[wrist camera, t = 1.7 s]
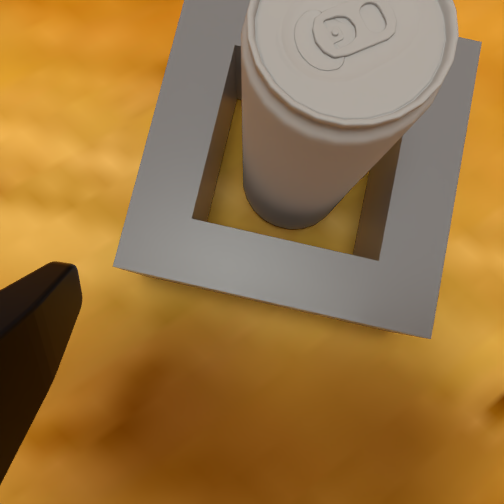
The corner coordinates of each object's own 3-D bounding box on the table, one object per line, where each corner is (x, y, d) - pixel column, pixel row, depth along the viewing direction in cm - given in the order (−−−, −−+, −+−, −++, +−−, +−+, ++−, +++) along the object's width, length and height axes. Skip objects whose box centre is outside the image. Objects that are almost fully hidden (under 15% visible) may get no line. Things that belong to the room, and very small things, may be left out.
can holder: (432, 96, 22) (481, 42, 17) (389, 331, 20) (430, 338, 16) (201, 45, 22) (190, -23, 17) (141, 275, 20) (113, 266, 16)
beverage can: (227, 158, 21) (204, -32, 9) (315, 121, 21) (403, -109, 10) (267, 247, 21) (297, 167, 9) (357, 207, 21) (505, 78, 9)
